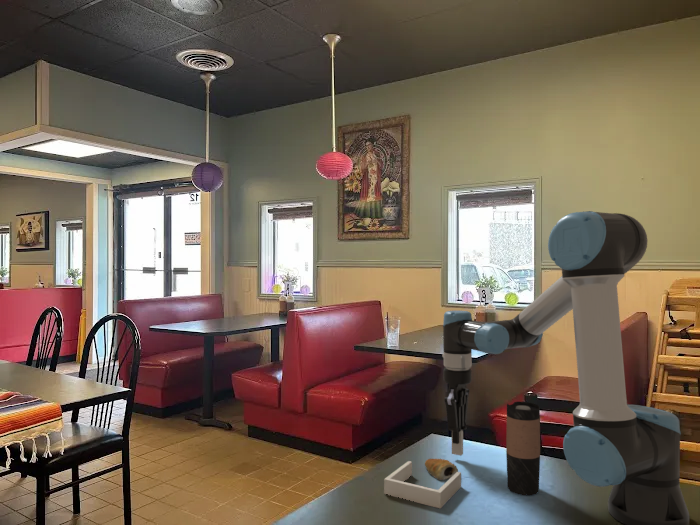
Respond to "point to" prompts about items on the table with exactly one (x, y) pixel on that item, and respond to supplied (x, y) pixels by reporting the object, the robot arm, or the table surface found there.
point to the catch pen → (420, 488)
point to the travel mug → (523, 448)
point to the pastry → (440, 468)
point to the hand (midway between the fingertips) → (457, 453)
